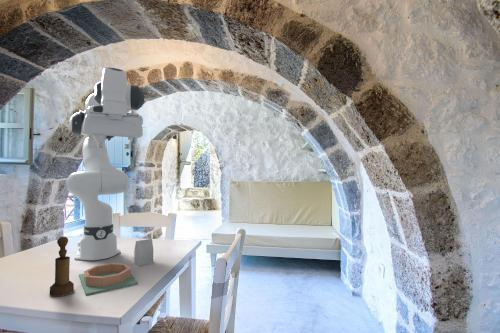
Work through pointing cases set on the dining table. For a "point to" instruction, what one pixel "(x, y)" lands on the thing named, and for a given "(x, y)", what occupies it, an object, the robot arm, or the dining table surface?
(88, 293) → the green mat
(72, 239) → the dining table surface
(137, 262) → the tea bag
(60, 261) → the brown wooden chess piece
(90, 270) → the pink octagonal ring
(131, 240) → the dining table surface
